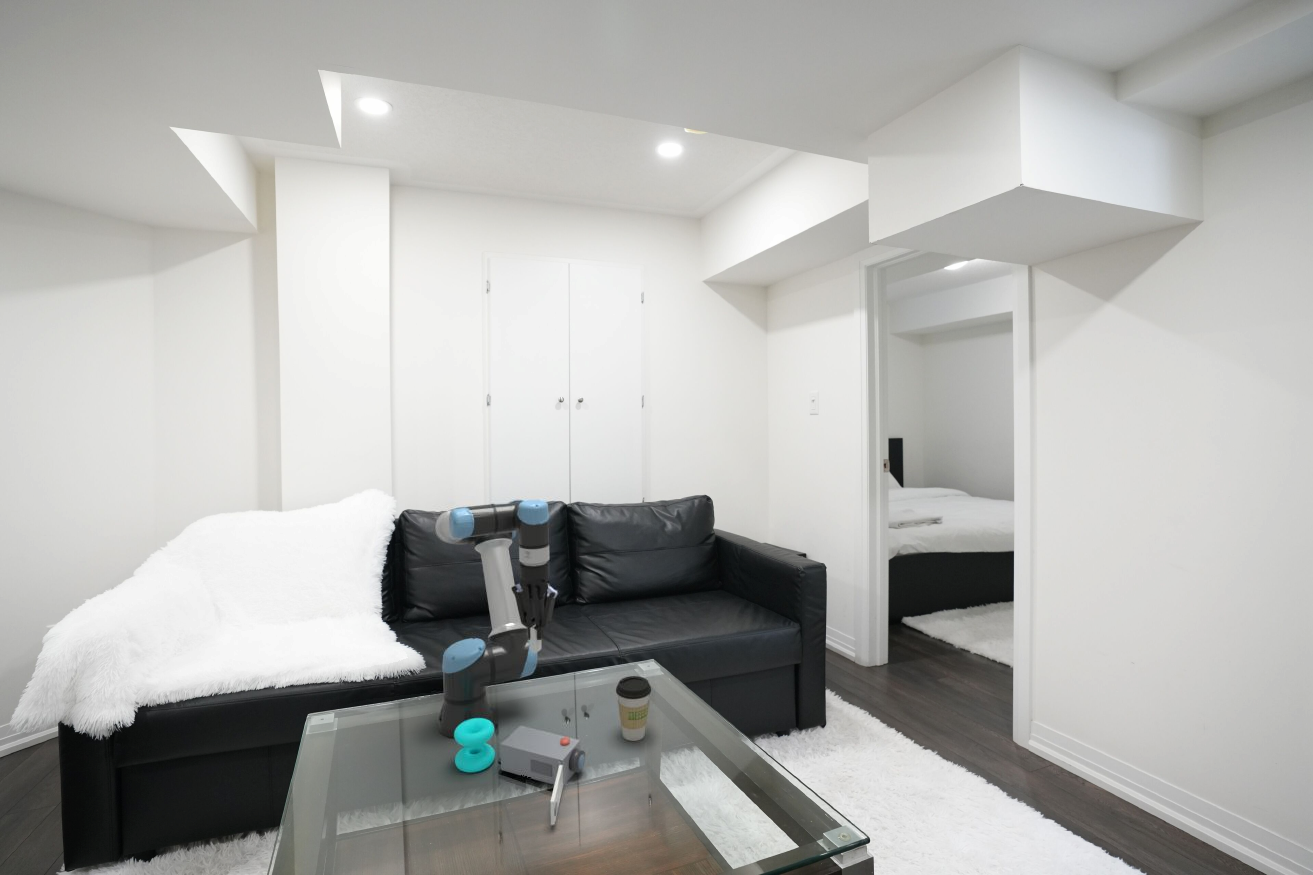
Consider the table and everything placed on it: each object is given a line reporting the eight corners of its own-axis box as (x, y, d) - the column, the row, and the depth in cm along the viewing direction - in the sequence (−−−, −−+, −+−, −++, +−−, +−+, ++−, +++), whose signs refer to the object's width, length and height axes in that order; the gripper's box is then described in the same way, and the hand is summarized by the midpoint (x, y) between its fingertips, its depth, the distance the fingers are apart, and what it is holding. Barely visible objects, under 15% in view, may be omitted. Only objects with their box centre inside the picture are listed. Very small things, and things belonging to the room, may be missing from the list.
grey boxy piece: (500, 770, 162) (499, 741, 161) (521, 749, 170) (520, 722, 169) (571, 789, 154) (570, 759, 153) (588, 767, 163) (588, 739, 162)
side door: (555, 826, 141) (555, 799, 141) (548, 826, 141) (547, 799, 141) (564, 785, 155) (564, 760, 154) (557, 785, 155) (557, 760, 154)
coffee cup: (647, 746, 172) (647, 694, 170) (612, 742, 174) (611, 690, 172) (654, 726, 181) (654, 676, 180) (621, 722, 183) (620, 673, 182)
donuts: (451, 739, 158) (456, 717, 168) (452, 776, 159) (457, 753, 169) (492, 735, 160) (495, 714, 169) (493, 772, 161) (496, 749, 170)
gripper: (504, 562, 160) (506, 652, 163) (548, 569, 155) (550, 661, 158) (521, 554, 167) (522, 640, 169) (564, 560, 162) (565, 648, 165)
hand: (536, 650), depth 164 cm, fingers closed
